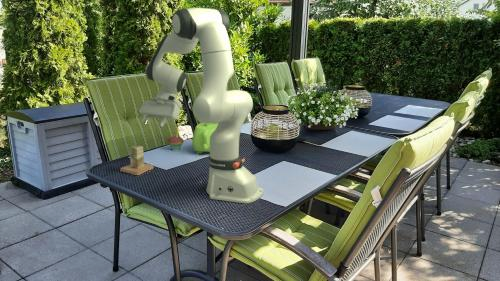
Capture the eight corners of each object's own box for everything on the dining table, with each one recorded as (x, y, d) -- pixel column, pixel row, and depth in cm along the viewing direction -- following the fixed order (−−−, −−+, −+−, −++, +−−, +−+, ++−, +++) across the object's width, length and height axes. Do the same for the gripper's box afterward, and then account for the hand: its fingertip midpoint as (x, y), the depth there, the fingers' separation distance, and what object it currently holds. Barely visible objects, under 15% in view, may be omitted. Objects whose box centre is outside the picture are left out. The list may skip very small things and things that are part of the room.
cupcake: (187, 148, 200) (186, 126, 197) (176, 152, 193) (175, 130, 190) (175, 146, 204) (174, 124, 201) (164, 150, 197) (162, 128, 194)
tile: (153, 170, 169) (153, 165, 169) (137, 177, 161) (137, 172, 160) (137, 166, 174) (137, 161, 173) (120, 173, 166) (120, 168, 165)
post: (144, 165, 168) (143, 146, 166) (137, 168, 165) (136, 148, 162) (137, 164, 170) (135, 145, 167) (130, 166, 166) (129, 147, 164)
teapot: (232, 157, 186) (232, 126, 182) (189, 157, 187) (188, 126, 182) (235, 143, 210) (235, 116, 206) (197, 143, 211) (196, 115, 206)
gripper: (144, 94, 180) (131, 118, 174) (179, 98, 171) (166, 123, 165) (151, 102, 185) (138, 125, 179) (185, 106, 176) (173, 131, 170)
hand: (152, 124), depth 172 cm, fingers open, 8 cm apart
